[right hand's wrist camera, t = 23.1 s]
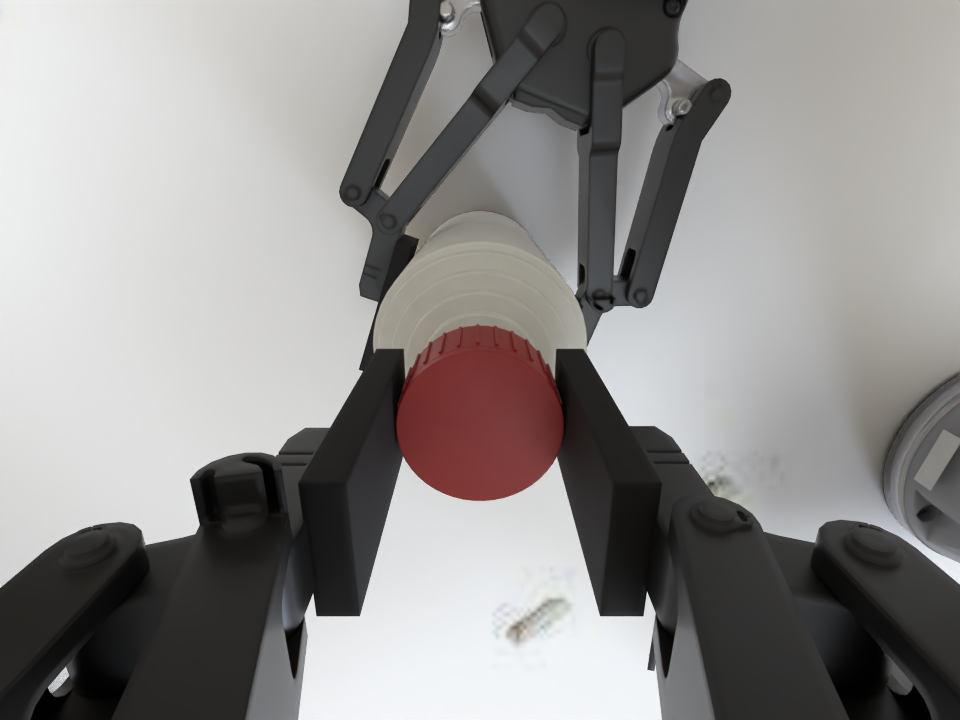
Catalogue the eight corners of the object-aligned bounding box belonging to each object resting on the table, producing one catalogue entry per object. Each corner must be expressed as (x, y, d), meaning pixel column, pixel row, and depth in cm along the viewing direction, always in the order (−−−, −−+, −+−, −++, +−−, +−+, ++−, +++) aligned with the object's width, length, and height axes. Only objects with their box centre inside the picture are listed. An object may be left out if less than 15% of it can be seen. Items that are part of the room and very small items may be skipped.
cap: (408, 316, 14) (396, 341, 12) (564, 329, 14) (578, 356, 12) (402, 454, 15) (391, 496, 13) (544, 465, 15) (554, 508, 13)
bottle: (411, 216, 30) (306, 283, 12) (539, 205, 30) (630, 257, 12) (425, 338, 33) (358, 545, 15) (543, 329, 33) (624, 527, 14)
